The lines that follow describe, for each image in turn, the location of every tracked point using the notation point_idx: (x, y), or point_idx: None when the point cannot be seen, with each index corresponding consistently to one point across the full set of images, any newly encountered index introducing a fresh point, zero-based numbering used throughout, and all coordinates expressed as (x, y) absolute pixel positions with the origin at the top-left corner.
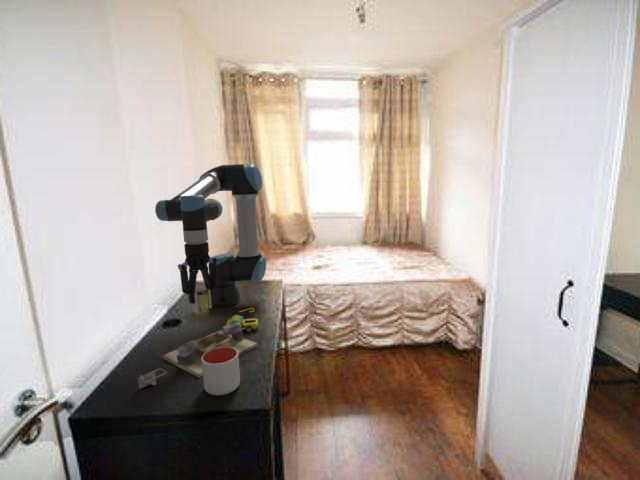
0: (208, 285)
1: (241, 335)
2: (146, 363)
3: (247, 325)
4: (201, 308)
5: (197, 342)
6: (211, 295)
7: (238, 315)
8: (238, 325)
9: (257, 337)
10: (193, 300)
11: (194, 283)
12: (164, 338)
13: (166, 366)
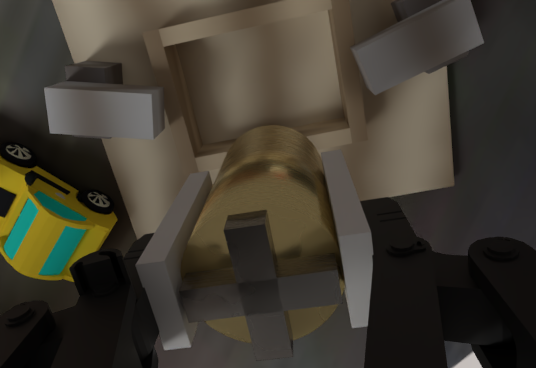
0: (129, 317)
1: (83, 63)
2: (514, 190)
3: (10, 165)
4: (296, 155)
5: (358, 48)
6: (142, 244)
7: (13, 262)
8: (65, 88)
9: (9, 59)
10: (374, 215)
11: (397, 351)
12: (357, 346)
13: (473, 101)
